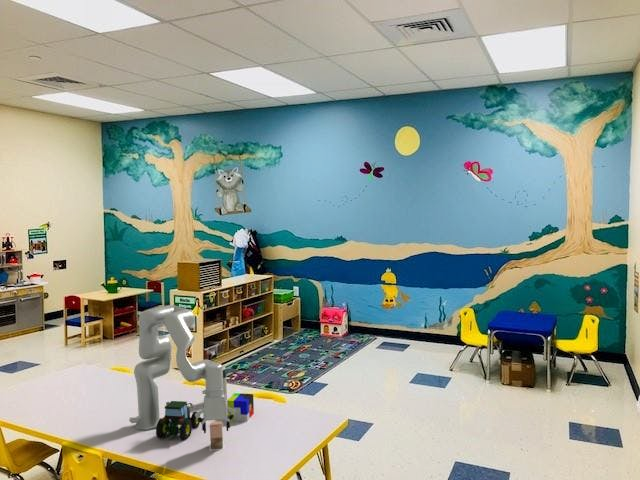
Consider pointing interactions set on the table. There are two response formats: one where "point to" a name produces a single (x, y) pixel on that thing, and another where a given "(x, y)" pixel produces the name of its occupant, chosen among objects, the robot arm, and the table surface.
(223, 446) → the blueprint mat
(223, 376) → the travel mug
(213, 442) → the walnut block
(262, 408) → the table surface
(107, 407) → the table surface
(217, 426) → the terracotta block
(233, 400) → the puzzle toy
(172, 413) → the toy tractor
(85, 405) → the table surface
